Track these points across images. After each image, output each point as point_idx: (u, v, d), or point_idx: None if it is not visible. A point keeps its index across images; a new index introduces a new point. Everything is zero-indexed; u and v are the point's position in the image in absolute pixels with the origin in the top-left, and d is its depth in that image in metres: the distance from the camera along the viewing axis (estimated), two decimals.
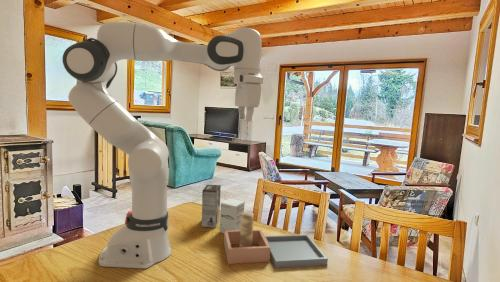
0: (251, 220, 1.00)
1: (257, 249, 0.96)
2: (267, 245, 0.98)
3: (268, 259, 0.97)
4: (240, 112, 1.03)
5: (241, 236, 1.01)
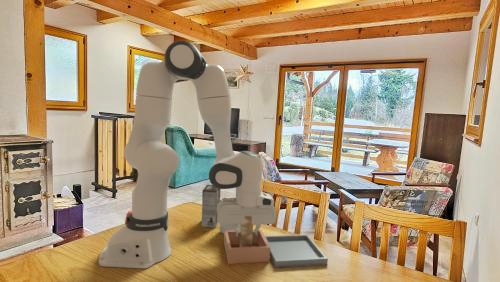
0: (251, 220, 1.00)
1: (257, 249, 0.96)
2: (267, 245, 0.98)
3: (268, 259, 0.97)
4: (237, 229, 1.01)
5: (241, 236, 1.01)
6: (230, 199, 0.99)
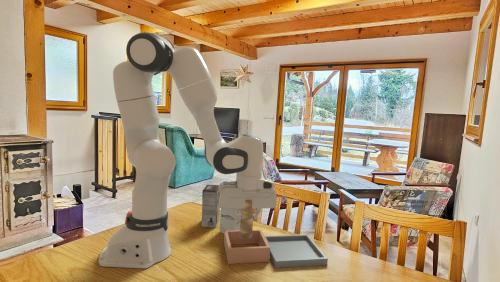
0: (251, 204, 0.99)
1: (257, 249, 0.96)
2: (267, 245, 0.98)
3: (268, 259, 0.97)
4: (237, 213, 1.00)
5: (241, 220, 1.00)
6: (230, 182, 0.98)
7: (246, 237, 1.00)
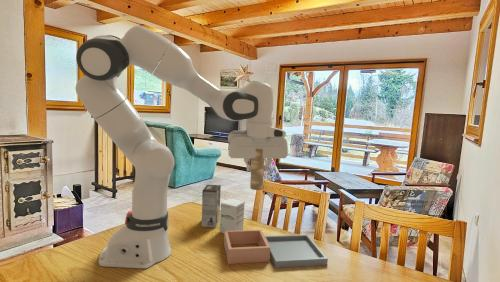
0: (262, 153, 0.97)
1: (257, 249, 0.96)
2: (267, 245, 0.98)
3: (268, 259, 0.97)
4: (248, 164, 0.98)
5: (252, 170, 0.98)
6: (240, 131, 0.96)
7: (257, 188, 0.98)
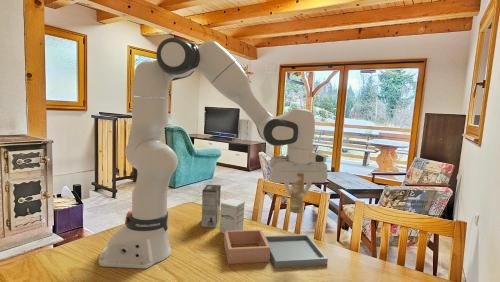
0: (303, 178, 0.99)
1: (257, 249, 0.96)
2: (267, 245, 0.98)
3: (268, 259, 0.97)
4: (288, 188, 1.00)
5: (292, 194, 1.00)
6: (282, 156, 0.98)
7: (297, 211, 1.00)
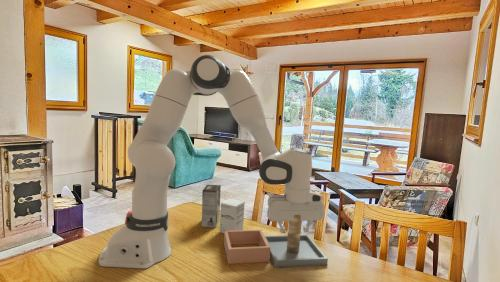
0: (300, 219, 1.01)
1: (257, 249, 0.96)
2: (267, 245, 0.98)
3: (268, 259, 0.97)
4: (282, 226, 1.01)
5: (289, 235, 1.02)
6: (280, 195, 1.00)
7: (294, 251, 1.02)
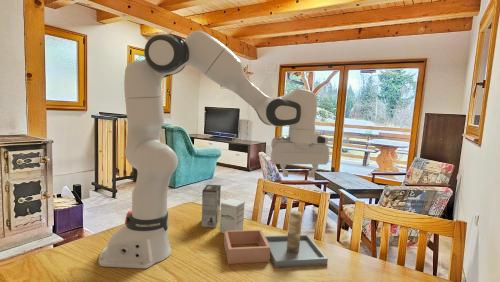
0: (300, 219, 1.01)
1: (257, 249, 0.96)
2: (267, 245, 0.98)
3: (268, 259, 0.97)
4: None
5: (289, 235, 1.02)
6: (284, 137, 0.97)
7: (294, 251, 1.02)
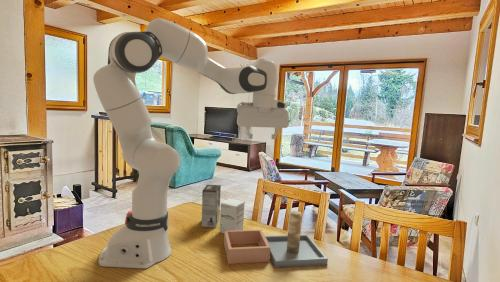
0: (300, 219, 1.01)
1: (257, 249, 0.96)
2: (267, 245, 0.98)
3: (268, 259, 0.97)
4: (249, 132, 1.11)
5: (289, 235, 1.02)
6: (248, 103, 1.10)
7: (294, 251, 1.02)
